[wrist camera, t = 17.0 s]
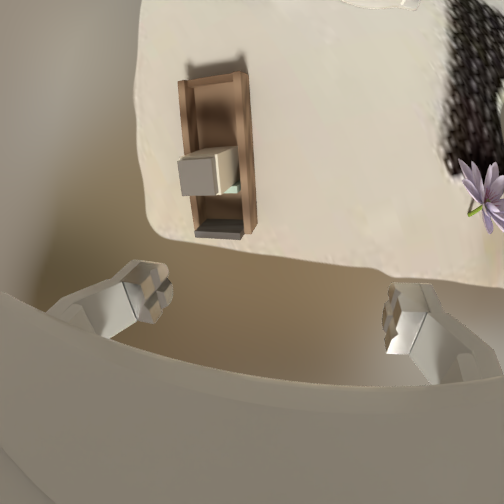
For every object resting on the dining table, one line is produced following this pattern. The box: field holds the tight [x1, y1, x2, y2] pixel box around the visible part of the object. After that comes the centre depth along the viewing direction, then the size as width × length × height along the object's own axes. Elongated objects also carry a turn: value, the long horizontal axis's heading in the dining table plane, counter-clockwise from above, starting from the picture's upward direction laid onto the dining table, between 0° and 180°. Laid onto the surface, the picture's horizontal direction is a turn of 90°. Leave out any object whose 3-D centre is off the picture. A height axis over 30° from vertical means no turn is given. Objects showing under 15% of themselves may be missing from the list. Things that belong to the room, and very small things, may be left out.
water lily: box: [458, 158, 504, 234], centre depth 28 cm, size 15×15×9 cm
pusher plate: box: [224, 180, 241, 193], centre depth 38 cm, size 1×6×4 cm, turn 93°
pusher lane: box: [178, 71, 258, 240], centre depth 36 cm, size 23×9×6 cm, turn 4°
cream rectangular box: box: [177, 146, 240, 196], centre depth 35 cm, size 5×5×9 cm
